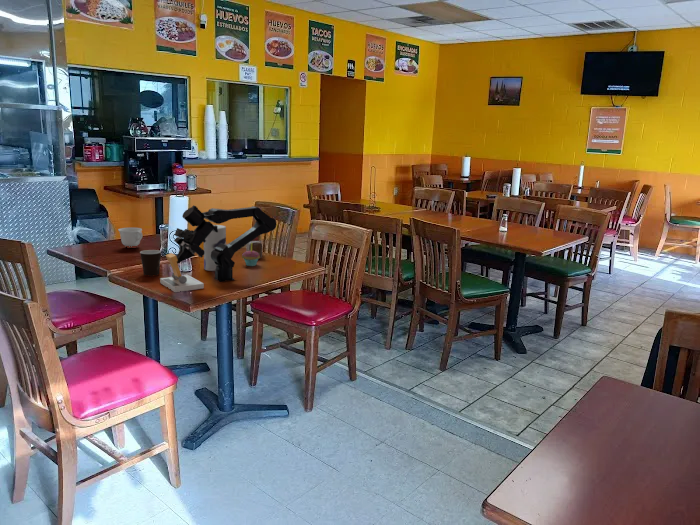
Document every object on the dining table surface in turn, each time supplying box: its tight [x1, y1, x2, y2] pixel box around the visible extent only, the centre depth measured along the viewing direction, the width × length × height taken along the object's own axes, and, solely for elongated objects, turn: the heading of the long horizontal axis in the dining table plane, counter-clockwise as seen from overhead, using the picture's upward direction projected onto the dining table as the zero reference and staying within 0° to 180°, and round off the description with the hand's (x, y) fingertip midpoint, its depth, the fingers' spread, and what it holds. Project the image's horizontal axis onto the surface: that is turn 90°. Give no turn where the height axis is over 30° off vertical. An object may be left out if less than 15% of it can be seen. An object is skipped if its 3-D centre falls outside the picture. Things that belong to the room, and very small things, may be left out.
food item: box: [245, 237, 263, 259], centre depth 288 cm, size 14×8×10 cm, turn 20°
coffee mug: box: [139, 249, 162, 277], centre depth 245 cm, size 12×9×10 cm
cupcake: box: [241, 242, 261, 267], centre depth 267 cm, size 9×8×12 cm
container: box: [203, 224, 227, 272], centre depth 256 cm, size 10×10×20 cm
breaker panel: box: [159, 272, 205, 293], centre depth 228 cm, size 12×16×5 cm
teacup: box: [117, 226, 144, 247], centre depth 293 cm, size 12×15×10 cm
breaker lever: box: [165, 252, 183, 280], centre depth 225 cm, size 2×5×11 cm, turn 38°
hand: (175, 262), depth 225 cm, fingers closed, pressing on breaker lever
